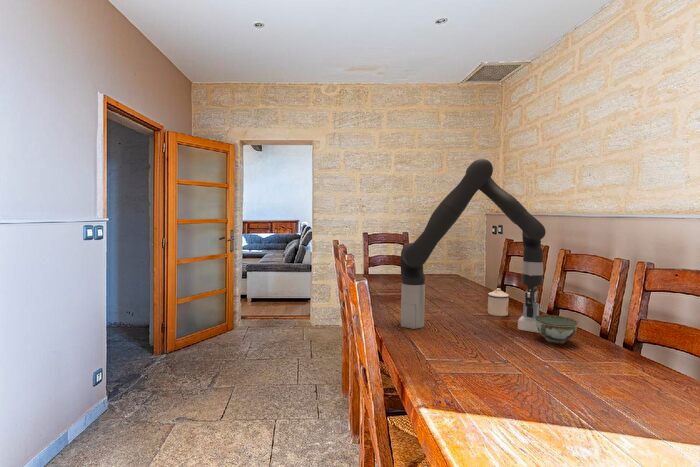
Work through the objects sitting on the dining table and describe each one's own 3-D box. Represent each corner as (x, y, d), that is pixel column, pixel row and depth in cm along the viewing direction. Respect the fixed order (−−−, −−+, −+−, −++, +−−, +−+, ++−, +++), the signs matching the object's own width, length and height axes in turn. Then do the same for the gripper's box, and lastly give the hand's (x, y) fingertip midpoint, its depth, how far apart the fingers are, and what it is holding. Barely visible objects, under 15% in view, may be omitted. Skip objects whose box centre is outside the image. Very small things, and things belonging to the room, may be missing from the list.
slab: (539, 333, 147) (540, 323, 147) (517, 329, 152) (517, 319, 152) (543, 328, 154) (543, 318, 154) (521, 325, 158) (522, 315, 158)
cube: (536, 318, 149) (537, 306, 149) (522, 316, 152) (523, 304, 152) (538, 316, 153) (539, 303, 153) (525, 314, 156) (525, 302, 156)
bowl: (583, 349, 129) (584, 326, 129) (540, 346, 132) (541, 323, 132) (569, 336, 143) (569, 315, 142) (530, 334, 145) (530, 313, 145)
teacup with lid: (511, 316, 170) (512, 290, 170) (491, 316, 171) (491, 290, 170) (502, 310, 182) (502, 285, 182) (482, 309, 183) (483, 285, 182)
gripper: (525, 270, 160) (524, 310, 161) (518, 274, 148) (517, 317, 149) (545, 271, 156) (544, 313, 156) (540, 276, 144) (538, 321, 145)
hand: (530, 315), depth 153 cm, fingers closed on cube, 4 cm apart
